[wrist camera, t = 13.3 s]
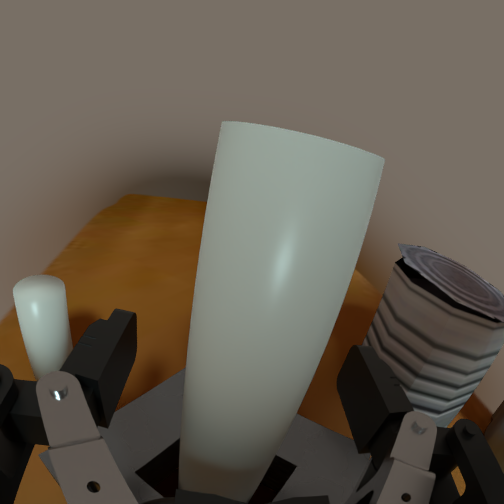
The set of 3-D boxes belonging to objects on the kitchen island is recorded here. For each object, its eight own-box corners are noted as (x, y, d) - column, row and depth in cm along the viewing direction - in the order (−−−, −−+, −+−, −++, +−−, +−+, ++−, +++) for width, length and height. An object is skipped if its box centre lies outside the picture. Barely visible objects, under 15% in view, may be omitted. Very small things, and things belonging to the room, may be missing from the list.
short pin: (63, 349, 20) (52, 270, 17) (86, 376, 18) (74, 293, 16) (26, 364, 17) (6, 283, 14) (46, 395, 15) (23, 310, 13)
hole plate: (195, 393, 20) (200, 357, 19) (348, 476, 14) (373, 448, 13) (58, 484, 10) (38, 454, 9) (245, 627, 4) (263, 632, 3)
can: (392, 345, 30) (434, 244, 26) (467, 403, 21) (529, 295, 17) (319, 375, 24) (369, 243, 20) (412, 463, 15) (511, 325, 11)
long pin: (205, 463, 14) (271, 135, 9) (256, 495, 13) (392, 165, 7) (163, 499, 11) (186, 115, 6) (219, 538, 10) (369, 147, 4)
